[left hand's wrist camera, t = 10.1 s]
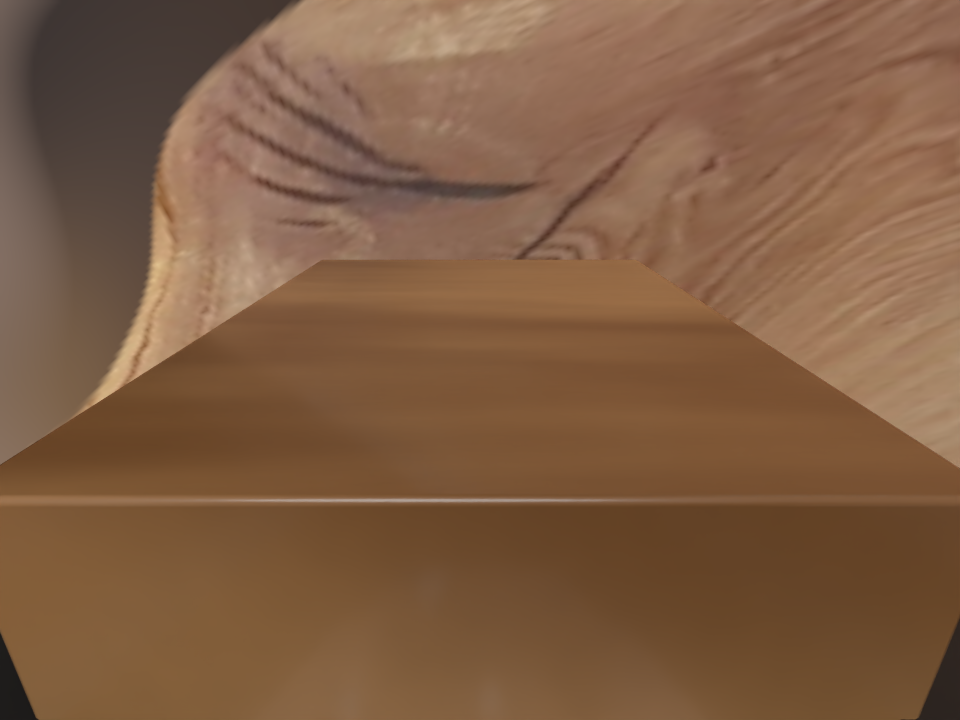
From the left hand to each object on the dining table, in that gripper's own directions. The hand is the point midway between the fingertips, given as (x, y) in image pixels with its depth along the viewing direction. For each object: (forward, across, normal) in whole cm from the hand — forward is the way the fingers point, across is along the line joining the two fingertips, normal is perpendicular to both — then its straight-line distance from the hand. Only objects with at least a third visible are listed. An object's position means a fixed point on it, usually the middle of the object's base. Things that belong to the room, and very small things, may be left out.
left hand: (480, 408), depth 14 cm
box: (+1, 0, -11) cm, 11 cm away
